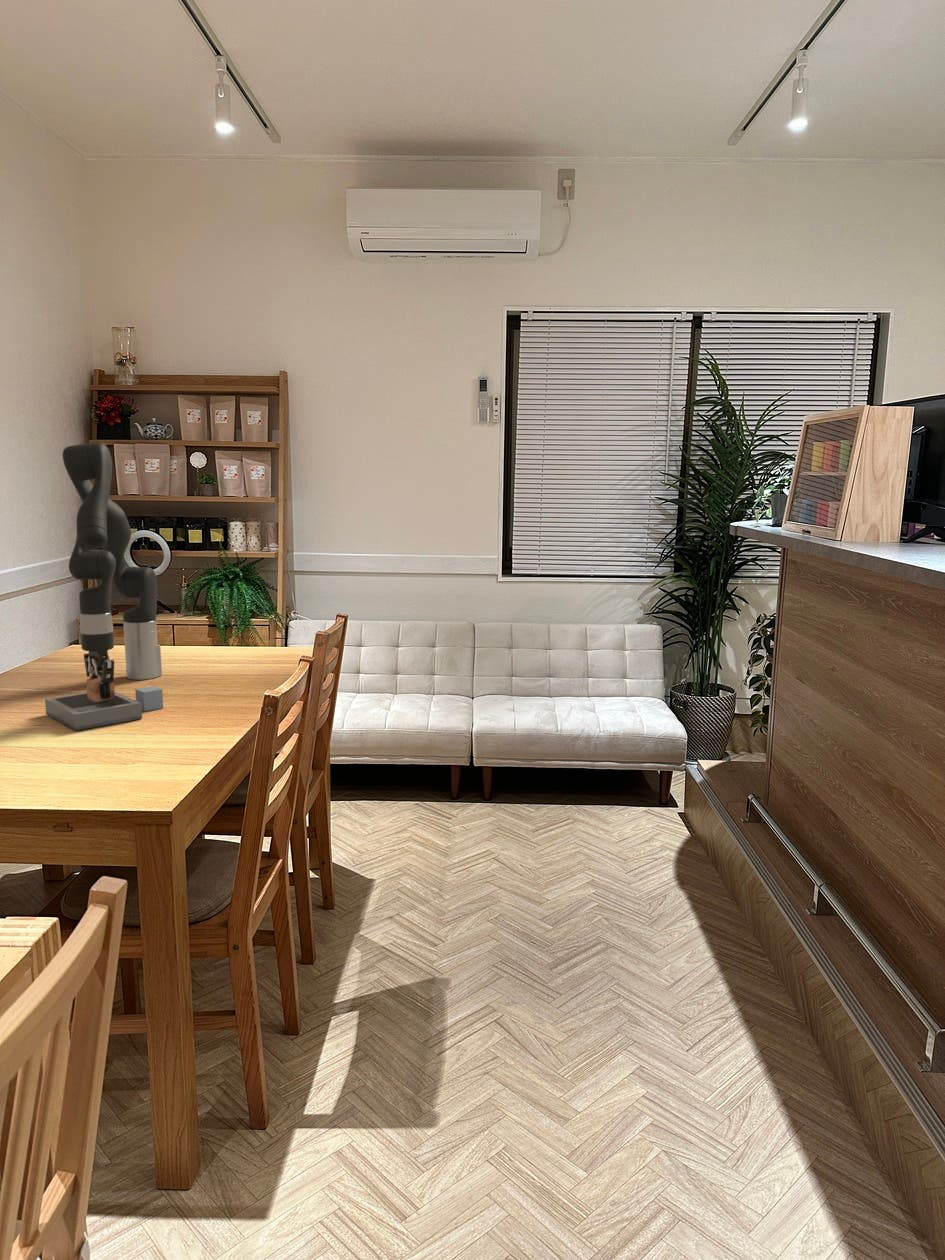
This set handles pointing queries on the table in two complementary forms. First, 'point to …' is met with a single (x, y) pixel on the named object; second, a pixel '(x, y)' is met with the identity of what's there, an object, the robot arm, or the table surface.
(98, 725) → the charcoal tray
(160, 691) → the grey block
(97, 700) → the terracotta block
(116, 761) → the table surface
